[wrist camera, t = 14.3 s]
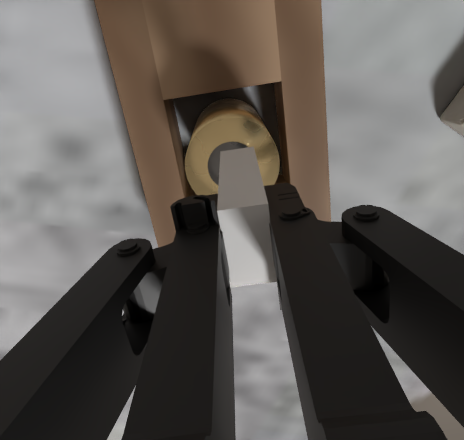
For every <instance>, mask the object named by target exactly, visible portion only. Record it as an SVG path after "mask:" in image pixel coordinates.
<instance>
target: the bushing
mask: <svg viewBox="0 0 464 440" xmlns="http://www.w3.org/2000/svg"><path fill="white" fill-rule="evenodd" d="M247 147H254V150H255V154H256V158H257V162H258V166H259V169H260V173H261V177H262V181H263V185H264V186H267V185H274V184H275V182H276V180H277V177H278V173H279V167H280V159H279V153H278V150H277V147H276V145H275V142H274V141H273V139H272V137H271V135H270V134H269V132H268V130H267V128H266V126H265V125H264V123H263V121H262V119H261V118H260V116H259V114H258V113H257V111H256V110H255V109H254V108H253V107H252V106H251V105H249V104H248V103H246V102H244V101H242V100H239V99H234V98H226V99H220V100H217V101H215V102H213V103H211V104H210V105H208V106H207V107H206V108H205V109H204V110H203V111H202V112H201V114H200V115H199V117H198V119H197V122H196V125H195V128H194V131H193V134H192V137H191V140H190V143H189V146H188V149H187V152H186V157H185V172H186V176H187V179H188V182H189V184H190V186H191V187H192V189H193V190H194V192H195V193H196V194H197V195H212V194H218V186H219V168H220V151H227V150H234V149H240V148H247Z"/></svg>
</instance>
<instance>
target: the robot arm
mask: <svg viewBox="0 0 464 440" xmlns="http://www.w3.org/2000/svg"><path fill="white" fill-rule="evenodd" d="M170 208H171V213H172V217H173V221H174V225H175V230H176V234H175V237H174V241H173V242H172V243H170V244H168V245H165V246H162V247H159V248H155V249H152V246H151V243H150V241H148V240H146V239H139V238H138V239H127V240H124V241H121V242H120V243H118V244H116V245H114V246H113V247H112V248H110V249H109V250H108V251H107V252H106V253H105V254H104V255H103V256H102V257H101V258H100V259H99V260H98V261H97V262H96V263H95V264H94V265H93V266H92V267H91V268H90V269H89V270H88V271H87V272H86V273H85V274H84V275H83V276H82V277H81V279H80V280H79V281H78V282H77V283H76V284H75V285H74V286H73V287H72V288H71V289H70V290H69V291H68V292H67V293H66V294H65V295H64V296H63V297H62V298H61V299H60V300H59V301H58V302H57V303H56V304H55V305H54V306H53V307H52V308H51V309H50V310H49V311H48V312H47V313H46V314H45V315H44V316H43V317H42V319H41V320H40V321H39V322H38V323H37V324H36V325H35V326H34V327H33V328H32V329H31V330H30V331H29V332H28V333H27V334H26V335H25V336H24V337H23V338H22V339H21V340H20V341H19V342H18V343H17V344H16V345H15V346H14V347H13V348H12V349H11V350H10V351H9V352H8V353H7V354H6V355H5V356H4V357H3V359H2V360H1V361H0V440H107V438H108V436H109V434H110V432H111V431H112V429H113V427H114V425H115V423H116V421H117V419H118V417H119V416H120V414H121V412H122V410H123V408H124V406H125V404H126V402H127V401H128V399H129V397H130V395H131V393H132V391H133V389H134V387H135V386H136V388H135V391H134V395H133V399H132V403H131V407H130V411H129V415H128V418H127V422H126V426H125V430H124V434H123V437H122V440H235V400H234V360H233V320H232V294H231V289H230V285H231V287H239V286H246V285H254V284H261V283H269V282H277V285H278V294H279V302H280V310H282V312H283V317H284V322H285V327H286V332H287V337H288V342H289V347H290V352H291V357H292V362H293V367H294V372H295V377H296V382H297V387H298V392H299V397H300V401H301V406H302V411H303V416H304V421H305V426H306V431H307V436H308V440H447V438H446V437H445V435H444V433H443V431H442V430H441V428H440V427H439V425H438V424H437V422H436V421H435V419H434V418H433V417H432V416H431V415H430V414H429V413H428V412H426V411H421V412H416V411H415V410H414V409H413V408H412V406H411V405H410V403H409V401H408V399H407V397H406V395H405V393H404V391H403V389H402V387H401V385H400V383H399V381H398V379H397V377H396V375H395V373H394V371H393V369H392V367H391V365H390V363H389V361H388V359H387V357H386V355H385V353H384V351H383V349H382V347H381V345H380V343H379V341H378V339H377V337H376V335H375V333H374V331H373V329H372V327H373V328H374V329H375V330H376V331H377V333H378V334H379V335H380V336H381V337H382V338H383V339H384V340H385V341H386V342H387V344H388V345H389V346H390V347H391V348H392V349H393V350H394V351H395V352H396V354H397V355H398V356H399V357H400V358H401V359H402V360H403V361H404V362H405V363H406V365H407V366H408V367H409V368H410V369H411V370H412V371H413V372H414V373H415V374H416V376H417V377H418V378H419V379H420V380H421V381H422V382H423V383H424V384H425V385H426V387H427V388H428V389H429V390H430V391H431V392H432V393H433V394H434V395H435V396H436V398H437V399H438V400H439V401H440V402H441V403H442V404H443V405H444V406H445V407H446V409H447V410H448V411H449V412H450V413H451V414H452V415H453V416H454V417H455V419H456V420H457V421H458V422H459V423H460V424H461V425H462V426H463V427H464V255H463V254H461V253H460V252H458V251H456V250H454V249H453V248H451V247H449V246H448V245H446V244H444V243H443V242H441V241H439V240H437V239H436V238H434V237H432V236H431V235H429V234H427V233H426V232H424V231H422V230H420V229H419V228H417V227H415V226H414V225H412V224H410V223H409V222H407V221H405V220H403V219H402V218H400V217H398V216H397V215H395V214H393V213H392V212H390V211H388V210H386V209H384V208H381V207H376V206H373V205H367V206H366V205H360V206H357V207H352V208H350V209H347V210H346V211H344V212H343V213H342V222H329V221H321V220H318V219H317V217H316V215H315V213H314V212H313V211H312V210H311V209H309V208H306V207H305V206H304V204H303V202H302V200H301V198H300V196H299V193H298V191H297V189H296V187H295V186H293V185H291V184H289V183H281V184H274V185H267V186H264V185H263V181H262V177H261V173H260V169H259V166H258V162H257V158H256V154H255V150H254V147H247V148H240V149H234V150H227V151H220V168H219V186H218V194H212V195H194V196H189V197H185V198H182V199H180V200H177V201H176V202H174V203H173V204H172V205H171V206H170ZM229 279H230V283H229ZM122 310H124V314H123V316H122ZM371 326H372V327H371Z"/></svg>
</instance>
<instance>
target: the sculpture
mask: <svg viewBox="0 0 464 440" xmlns="http://www.w3.org/2000/svg"><path fill="white" fill-rule="evenodd" d="M440 120H441V122H443V123H444V124H446V125H447V126H449V127H450V128H452V129H453V130H454V131H456V132H457V133H459V134H460V135H462V136H463V137H464V85H463V87H462V88H461V89H460V91H459V92H458V94H457V95H456V96H455V98H454V99H453V100H452V102H451V103H450V104H449V106H448V107H447V108H446V110H445V111H444V112H443V113H442V115H441V116H440Z"/></svg>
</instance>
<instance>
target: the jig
mask: <svg viewBox="0 0 464 440" xmlns="http://www.w3.org/2000/svg"><path fill="white" fill-rule="evenodd" d="M94 2H95V6H96V10H97V13H98V17H99V21H100V25H101V29H102V33H103V36H104V40H105V44H106V48H107V52H108V56H109V59H110V63H111V67H112V71H113V75H114V79H115V82H116V86H117V90H118V94H119V98H120V102H121V105H122V109H123V113H124V117H125V121H126V125H127V128H128V132H129V136H130V140H131V144H132V148H133V151H134V155H135V159H136V163H137V167H138V171H139V174H140V178H141V182H142V186H143V190H144V194H145V197H146V201H147V205H148V209H149V213H150V217H151V220H152V224H153V228H154V232H155V236H156V240H157V243H158V247H162V246H165V245H168V244H170V243H172V242H173V241H174V237H175V234H176V230H175V225H174V221H173V217H172V213H171V208H170V206H171V205H172V204H173V203H174V202H176V201H177V200H180V199H182V198H185V197H189V196H194V195H197V194H196V193H195V192H194V190H193V189H192V188H191V186H190V184H189V182H188V179H187V176H186V172H185V156H184V151H183V146H182V142H181V137H180V132H179V127H178V122H177V117H176V112H175V107H174V103H173V98H179V97H186V96H192V95H198V94H204V93H211V92H217V91H223V90H230V89H236V88H242V87H248V86H255V85H261V84H267V83H273V82H274V92H275V102H276V112H277V122H278V133H279V143H280V153H281V163H282V175H278V177H277V180H276V182H275V184H281V183H289V184H291V185H293V186H295V187H296V189H297V191H298V193H299V196H300V198H301V200H302V202H303V204H304V206H305V207H306V208H309V209H311V210H312V211H313V212H314V213H315V215H316V217H317V219H318V220H321V221H329V222H331V210H330V188H329V165H328V143H327V121H326V98H325V76H324V54H323V31H322V9H321V0H94Z"/></svg>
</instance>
